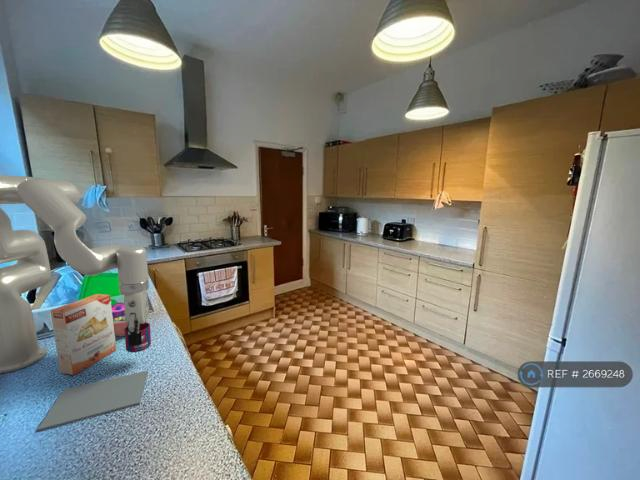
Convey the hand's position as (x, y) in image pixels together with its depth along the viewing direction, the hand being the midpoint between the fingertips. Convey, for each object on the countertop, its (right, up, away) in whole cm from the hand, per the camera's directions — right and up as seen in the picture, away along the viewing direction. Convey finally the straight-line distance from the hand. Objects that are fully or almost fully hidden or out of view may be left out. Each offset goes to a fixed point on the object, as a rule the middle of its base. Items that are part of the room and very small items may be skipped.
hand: (138, 337), depth 85 cm
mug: (-1, -3, +1) cm, 3 cm away
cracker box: (-17, -9, +2) cm, 19 cm away
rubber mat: (-1, -12, -13) cm, 18 cm away
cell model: (-20, -6, +21) cm, 29 cm away
